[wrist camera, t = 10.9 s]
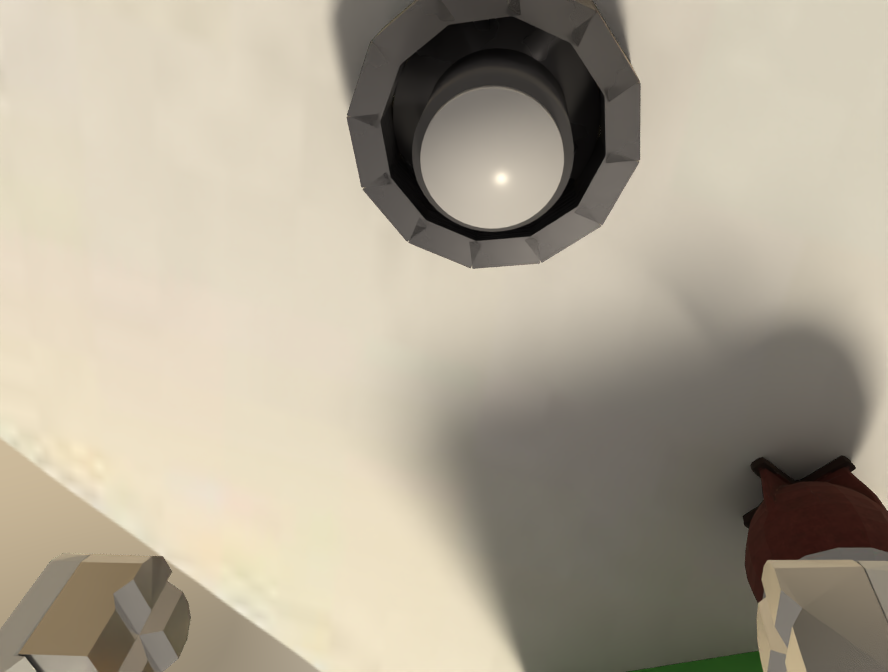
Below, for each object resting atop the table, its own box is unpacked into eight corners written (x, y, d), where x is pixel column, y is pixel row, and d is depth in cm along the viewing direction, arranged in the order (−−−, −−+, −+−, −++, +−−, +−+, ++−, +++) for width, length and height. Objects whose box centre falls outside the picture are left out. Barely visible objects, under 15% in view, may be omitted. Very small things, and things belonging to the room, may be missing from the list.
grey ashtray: (631, -51, 24) (641, -44, 22) (631, 227, 30) (639, 255, 28) (339, -9, 26) (322, 2, 24) (390, 248, 32) (380, 275, 29)
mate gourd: (898, 489, 36) (1093, 816, 24) (769, 562, 40) (878, 877, 27) (804, 411, 34) (962, 723, 22) (676, 496, 38) (749, 803, 25)
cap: (563, 38, 26) (570, 66, 22) (571, 183, 29) (578, 229, 25) (414, 58, 27) (396, 88, 23) (437, 197, 29) (424, 244, 26)
